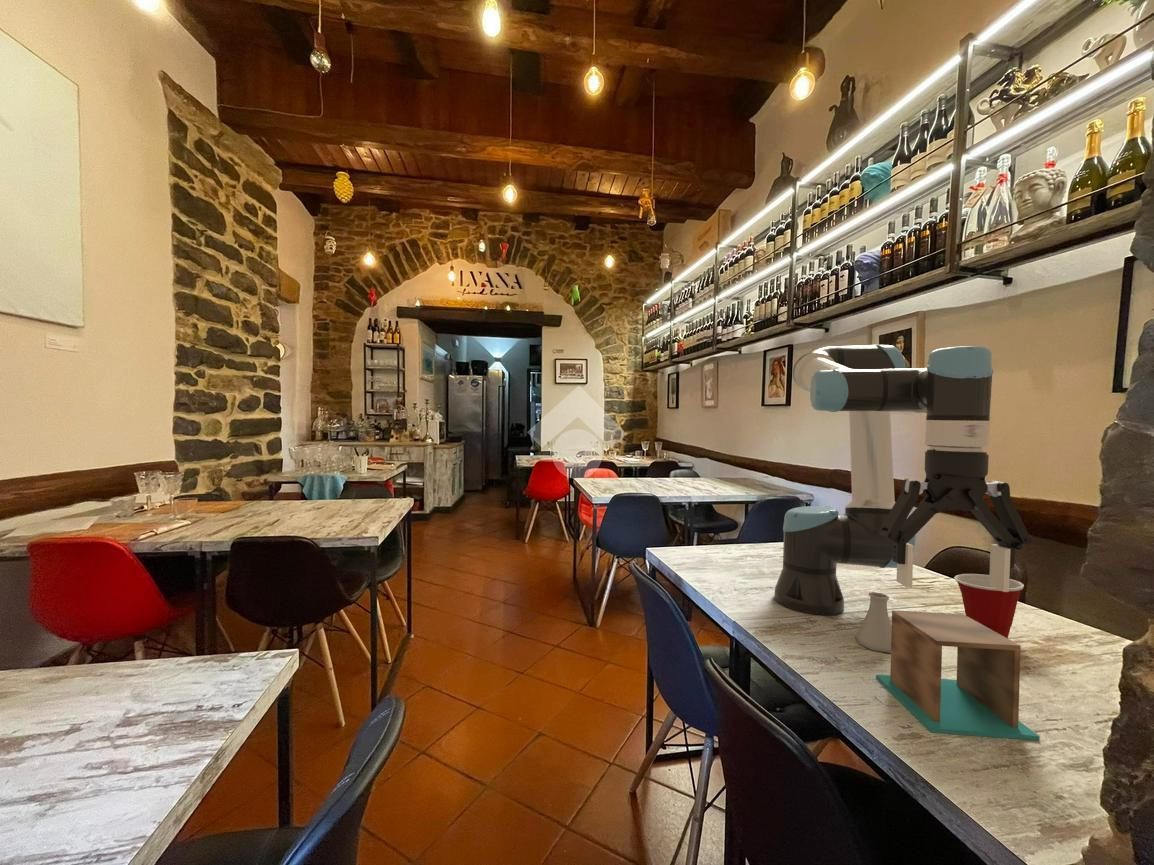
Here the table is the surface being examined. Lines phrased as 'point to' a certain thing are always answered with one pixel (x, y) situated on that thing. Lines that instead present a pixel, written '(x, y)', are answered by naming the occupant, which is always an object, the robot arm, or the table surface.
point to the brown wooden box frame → (980, 662)
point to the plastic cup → (989, 601)
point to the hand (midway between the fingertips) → (950, 586)
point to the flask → (876, 625)
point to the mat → (960, 713)
